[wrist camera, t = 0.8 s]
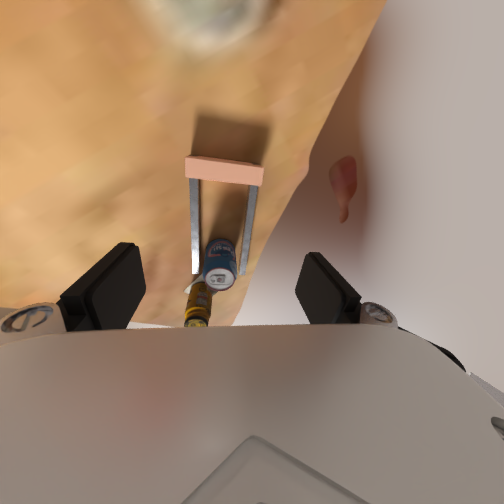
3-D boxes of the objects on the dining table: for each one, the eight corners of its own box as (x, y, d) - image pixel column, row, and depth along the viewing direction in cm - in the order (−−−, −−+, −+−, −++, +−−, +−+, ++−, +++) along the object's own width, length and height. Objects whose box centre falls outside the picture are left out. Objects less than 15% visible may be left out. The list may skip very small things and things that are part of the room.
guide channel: (190, 154, 34) (188, 155, 32) (258, 164, 37) (260, 165, 34) (194, 267, 47) (192, 273, 45) (244, 269, 50) (244, 275, 48)
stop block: (190, 154, 34) (184, 157, 29) (258, 164, 37) (264, 168, 31) (191, 171, 36) (185, 177, 31) (256, 179, 38) (261, 186, 33)
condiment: (183, 290, 51) (173, 328, 41) (202, 272, 48) (197, 307, 38) (205, 302, 54) (200, 339, 44) (224, 285, 52) (224, 320, 42)
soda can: (235, 236, 44) (238, 265, 34) (234, 260, 48) (237, 293, 38) (205, 236, 43) (200, 265, 33) (206, 260, 47) (202, 294, 37)
